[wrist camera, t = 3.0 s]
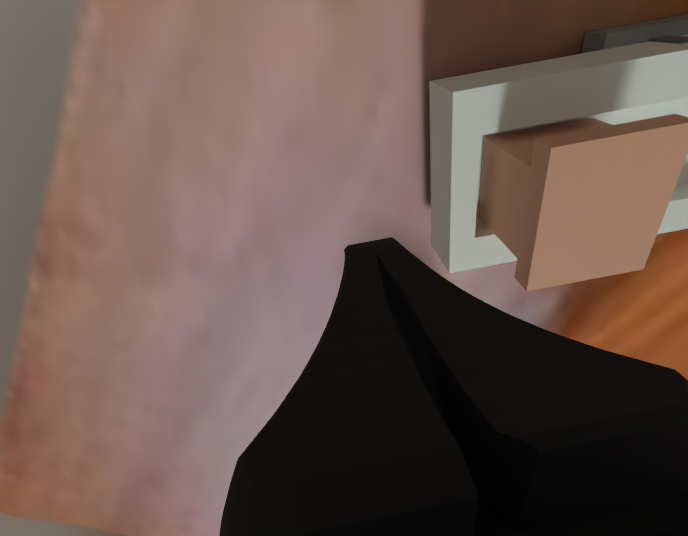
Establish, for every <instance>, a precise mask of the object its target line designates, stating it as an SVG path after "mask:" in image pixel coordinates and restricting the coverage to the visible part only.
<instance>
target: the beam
mask: <svg viewBox="0 0 688 536" xmlns="http://www.w3.org/2000/svg"><path fill="white" fill-rule="evenodd" d="M429 89H430V167H431V244H432V246H433V248H434V249H435V251H436V252H437V254H438V256H439V257H440V259H441V261H442V262H443V264H444V266H445V267H446V269H447V270H448V272H449V273H454V272H459V271H464V270H470V269H475V268H480V267H486V266H491V265H496V264H501V263H507V262H512V261H517V258H516V257H515V255H514V254H513V253H512V252H511V251H510V250H509V249H508V248H507V247H506V246H505V245H504V244H503V243H502V241H501V240H500V239H499V238H498V237H497V236H496V235H495V234H494V233H493V232H492V231H491V230H490V229H489V228H488V226H487V225H486V224H485V223H484V222H483V221H482V220H481V219H480V218H479V217H478V215H479V200H480V185H481V171H482V156H483V141H484V137H489V136H495V135H500V134H506V133H511V132H517V131H522V130H527V129H533V128H538V127H544V126H549V125H555V124H560V123H566V122H571V121H577V120H582V119H587V118H594V119H597V120H600V121H603V122H606V123H609V124H612V125H616V124H622V123H627V122H632V121H638V120H643V119H649V118H654V117H660V116H665V115H671V114H678V115H682V116H686V117H688V14H684V15H679V16H673V17H668V18H662V19H657V20H651V21H646V22H640V23H634V24H629V25H623V26H618V27H612V28H607V29H601V30H595V31H590V32H585V37H584V42H583V47H582V52H581V54H576V55H571V56H565V57H560V58H554V59H548V60H543V61H537V62H532V63H526V64H521V65H515V66H510V67H504V68H499V69H493V70H488V71H482V72H476V73H471V74H465V75H460V76H454V77H449V78H443V79H438V80H432V81H429ZM687 228H688V155H687V157H686V160H685V162H684V165H683V168H682V170H681V173H680V176H679V178H678V181H677V183H676V186H675V189H674V191H673V194H672V196H671V199H670V202H669V204H668V207H667V209H666V212H665V215H664V217H663V220H662V222H661V225H660V228H659V230H658V233H657V234H660V233H666V232H671V231H676V230H682V229H687Z"/></svg>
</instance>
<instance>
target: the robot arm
mask: <svg viewBox="0 0 688 536" xmlns="http://www.w3.org/2000/svg"><path fill="white" fill-rule="evenodd" d="M344 251H345V264H344V270H343V276H342V280H341V284H340V288H339V292H338V295H337V298H336V301H335V304H334V307H333V310H332V313H331V316H330V318H329V321H328V323H327V326H326V328H325V330H324V332H323V335H322V337H321V339H320V341H319V343H318V345H317V347H316V349H315V351H314V352H313V354H312V356H311V358H310V360H309V362H308V363H307V365H306V367H305V369H304V370H303V372H302V374H301V375H300V377H299V378H298V380H297V381H296V383H295V384H294V386H293V387H292V389H291V390H290V392H289V393H288V395H287V396H286V398H285V399H284V401H283V402H282V404H281V405H280V406H279V408H278V409H277V411H276V412H275V413H274V415H273V416H272V417H271V419H270V420H269V421H268V422H267V424H266V425H265V426H264V427H263V428H262V430H261V431H260V432H259V433H258V435H257V436H256V437H255V438H254V440H253V441H252V442H251V443H250V445H249V446H248V447H247V448H246V450H245V451H244V452H243V453H242V454H241V455H240V457H239V458H238V461H237V464H236V467H235V470H234V473H233V477H232V480H231V483H230V487H229V491H228V495H227V499H226V503H225V507H224V511H223V516H222V520H221V528H220V536H688V380H687V379H686V378H684V377H683V376H682V375H681V374H680V373H678V372H677V371H676V370H674V369H670V368H667V367H663V366H659V365H656V364H652V363H649V362H645V361H641V360H638V359H634V358H630V357H627V356H623V355H619V354H616V353H612V352H609V351H605V350H602V349H599V348H596V347H593V346H590V345H587V344H584V343H581V342H578V341H575V340H572V339H569V338H566V337H563V336H561V335H558V334H555V333H553V332H550V331H547V330H545V329H542V328H540V327H537V326H535V325H532V324H530V323H528V322H525V321H523V320H521V319H518V318H516V317H514V316H511V315H509V314H507V313H505V312H503V311H501V310H499V309H497V308H495V307H493V306H491V305H489V304H487V303H485V302H483V301H481V300H479V299H477V298H476V297H474V296H472V295H470V294H469V293H467V292H465V291H463V290H462V289H460V288H459V287H457V286H455V285H454V284H452V283H451V282H449V281H448V280H446V279H445V278H443V277H442V276H440V275H439V274H438V273H436V272H435V271H434V270H432V269H431V268H430V267H428V266H427V265H425V264H424V263H423V262H422V261H420V260H419V259H418V258H417V257H415V256H414V255H413V254H412V253H410V252H409V251H408V250H407V249H406V248H404V247H403V246H402V245H401V244H400V243H399V242H397V241H396V240H395V239H393V238H392V237H391V238H385V239H380V240H375V241H370V242H364V243H359V244H354V245H348V246H347V247H346V248H345V250H344Z"/></svg>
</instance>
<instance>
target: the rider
mask: <svg viewBox="0 0 688 536" xmlns="http://www.w3.org/2000/svg"><path fill="white" fill-rule="evenodd" d="M687 155H688V117H686V116H682V115H678V114H671V115H665V116H660V117H654V118H649V119H643V120H638V121H632V122H627V123H622V124H616V125H612V124H609V123H606V122H603V121H600V120H597V119H594V118H587V119H582V120H577V121H571V122H566V123H560V124H555V125H549V126H544V127H538V128H533V129H527V130H522V131H517V132H511V133H506V134H500V135H495V136H489V137H484V141H483V156H482V171H481V185H480V200H479V215H478V217H479V218H480V219H481V220H482V221H483V222H484V223H485V224H486V225H487V226H488V228H489V229H490V230H491V231H492V232H493V233H494V234H495V235H496V236H497V237H498V238H499V239H500V240H501V241H502V243H503V244H504V245H505V246H506V247H507V248H508V249H509V250H510V251H511V252H512V253H513V254H514V255H515V257H516V258H517V265H516V272H515V278H516V280H517V281H518V282H519V283H520V284H521V285H522V287H523V288H524V289H525V290H526V291H531V290H537V289H542V288H547V287H552V286H558V285H563V284H568V283H573V282H579V281H584V280H589V279H594V278H600V277H605V276H610V275H615V274H621V273H626V272H631V271H636V270H642V269H644V267H645V264H646V261H647V259H648V256H649V254H650V251H651V248H652V246H653V243H654V241H655V238H656V235H657V233H658V230H659V228H660V225H661V222H662V220H663V217H664V215H665V212H666V209H667V207H668V204H669V202H670V199H671V196H672V194H673V191H674V189H675V186H676V183H677V181H678V178H679V176H680V173H681V170H682V168H683V165H684V162H685V160H686V157H687Z"/></svg>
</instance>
